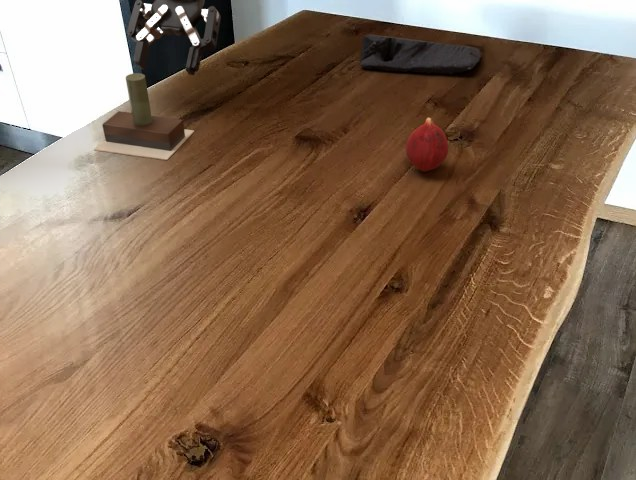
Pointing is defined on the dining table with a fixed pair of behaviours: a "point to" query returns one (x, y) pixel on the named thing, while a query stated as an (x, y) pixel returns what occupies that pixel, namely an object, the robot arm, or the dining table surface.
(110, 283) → the dining table surface
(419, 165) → the onion
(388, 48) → the dark slate chunk
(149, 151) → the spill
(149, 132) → the stamp with green handle
